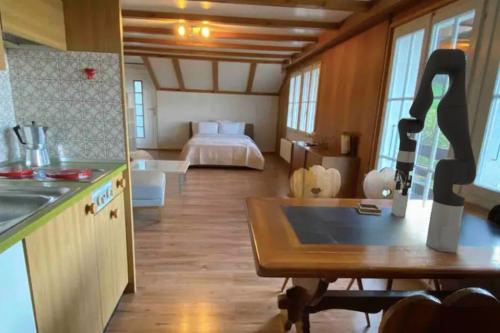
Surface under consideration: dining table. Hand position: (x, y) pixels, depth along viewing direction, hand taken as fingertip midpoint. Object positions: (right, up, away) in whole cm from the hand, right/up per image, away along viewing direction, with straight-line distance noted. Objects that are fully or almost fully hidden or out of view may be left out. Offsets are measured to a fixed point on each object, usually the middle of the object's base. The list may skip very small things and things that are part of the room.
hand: (400, 193), depth 135 cm
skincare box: (0, -11, +2) cm, 11 cm away
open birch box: (-13, -10, +6) cm, 17 cm away
